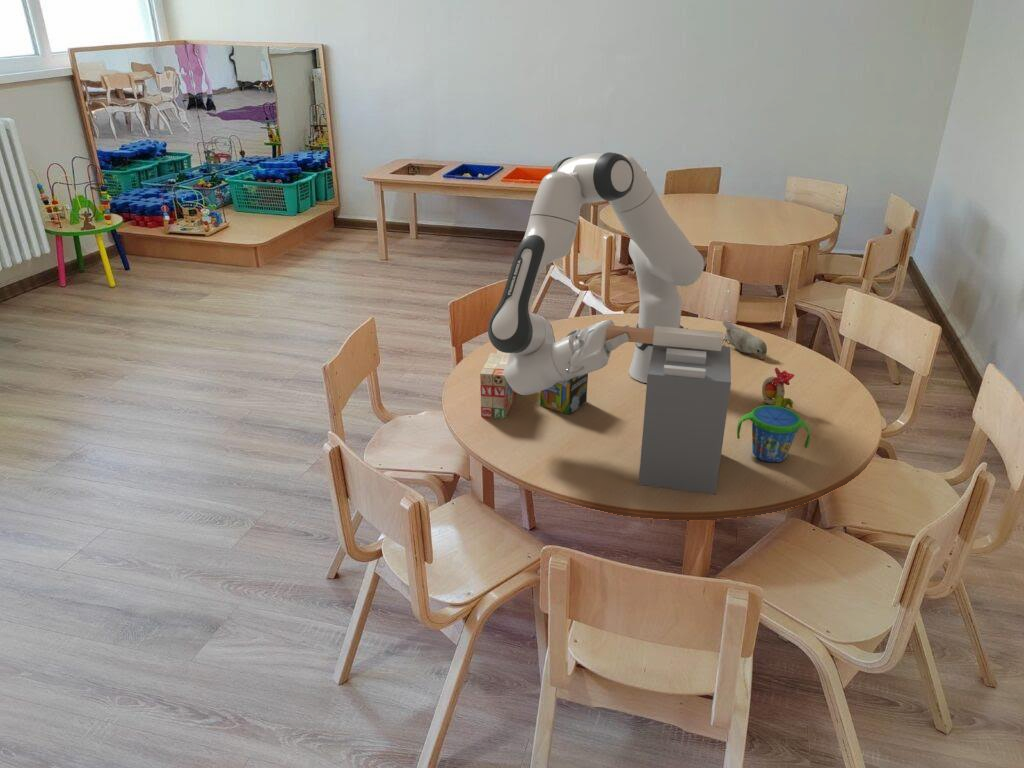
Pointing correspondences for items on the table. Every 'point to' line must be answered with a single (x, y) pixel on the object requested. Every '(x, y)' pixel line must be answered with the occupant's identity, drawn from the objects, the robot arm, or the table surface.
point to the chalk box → (566, 395)
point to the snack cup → (773, 431)
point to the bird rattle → (777, 389)
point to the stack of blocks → (495, 387)
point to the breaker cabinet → (685, 418)
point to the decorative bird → (744, 340)
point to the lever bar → (670, 337)
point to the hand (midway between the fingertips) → (629, 332)
